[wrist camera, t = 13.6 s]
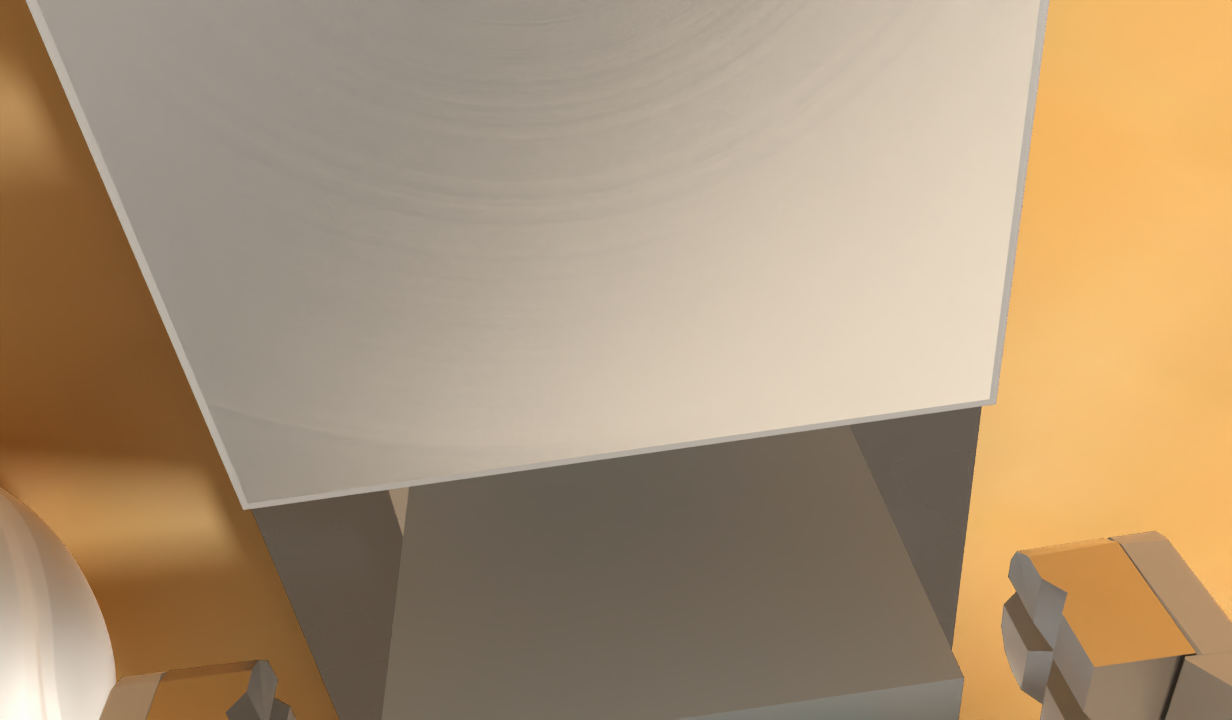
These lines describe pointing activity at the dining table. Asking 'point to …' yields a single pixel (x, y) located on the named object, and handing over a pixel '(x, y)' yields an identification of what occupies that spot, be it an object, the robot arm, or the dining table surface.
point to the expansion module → (667, 592)
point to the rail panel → (374, 525)
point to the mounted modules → (557, 219)
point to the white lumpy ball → (47, 625)
